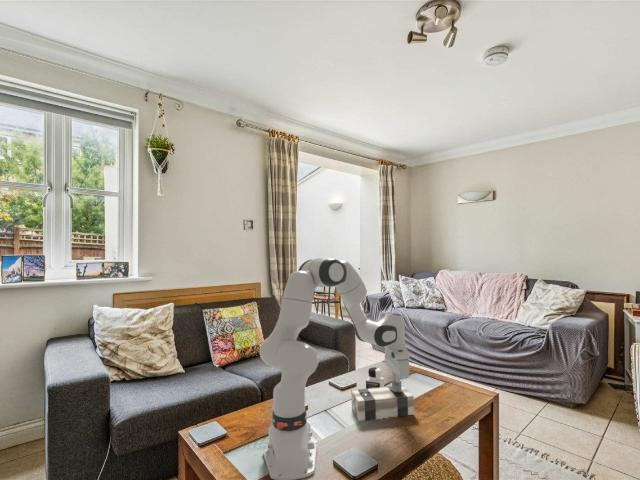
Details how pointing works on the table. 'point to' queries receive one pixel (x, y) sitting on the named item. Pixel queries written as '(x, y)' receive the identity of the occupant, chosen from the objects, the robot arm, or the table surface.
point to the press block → (381, 403)
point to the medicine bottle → (374, 378)
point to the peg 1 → (365, 394)
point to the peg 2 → (396, 387)
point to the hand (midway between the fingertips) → (396, 381)
